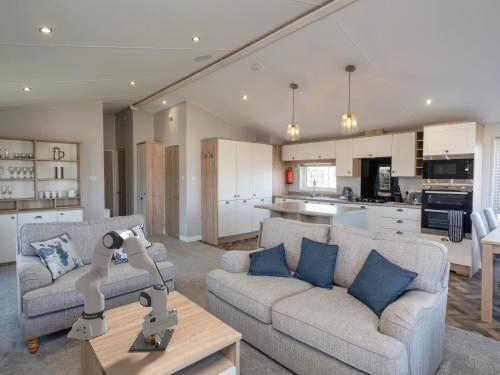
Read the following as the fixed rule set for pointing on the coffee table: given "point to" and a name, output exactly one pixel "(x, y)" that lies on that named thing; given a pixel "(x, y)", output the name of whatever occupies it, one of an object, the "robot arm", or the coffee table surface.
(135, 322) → the coffee table surface
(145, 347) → the flange plate
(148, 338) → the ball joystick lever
